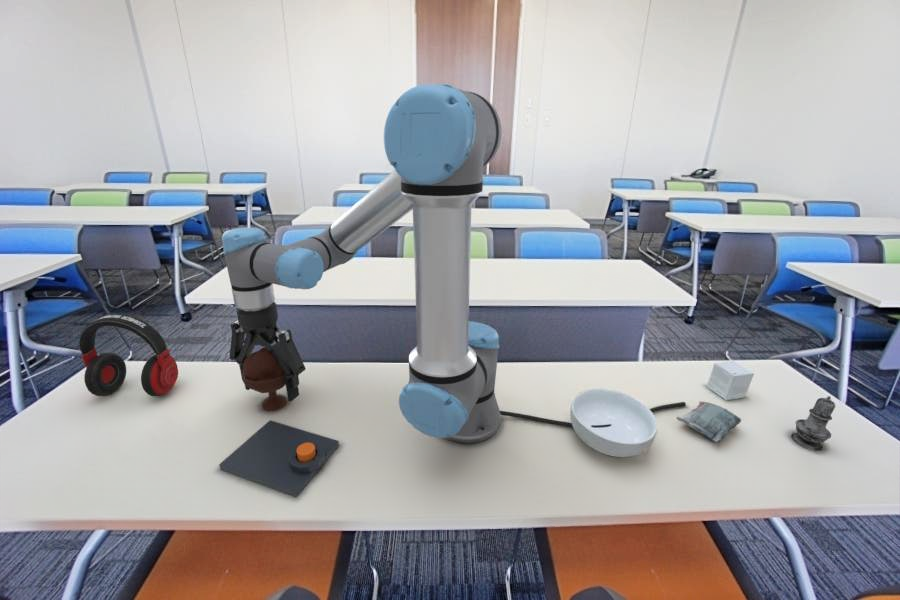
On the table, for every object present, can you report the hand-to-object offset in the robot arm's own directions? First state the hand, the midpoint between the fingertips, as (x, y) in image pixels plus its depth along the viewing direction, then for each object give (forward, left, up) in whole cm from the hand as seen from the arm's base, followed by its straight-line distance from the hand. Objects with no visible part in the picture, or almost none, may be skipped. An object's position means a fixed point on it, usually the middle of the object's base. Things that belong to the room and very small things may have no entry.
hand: (272, 392), depth 90 cm
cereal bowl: (-73, -16, -3) cm, 75 cm away
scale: (-13, +12, -3) cm, 18 cm away
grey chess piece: (-114, -31, -3) cm, 118 cm away
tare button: (-19, +13, -1) cm, 23 cm away
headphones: (+32, +8, -4) cm, 33 cm away
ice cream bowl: (0, 0, -3) cm, 3 cm away
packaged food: (-94, -28, -3) cm, 98 cm away
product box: (-102, -45, -4) cm, 111 cm away
